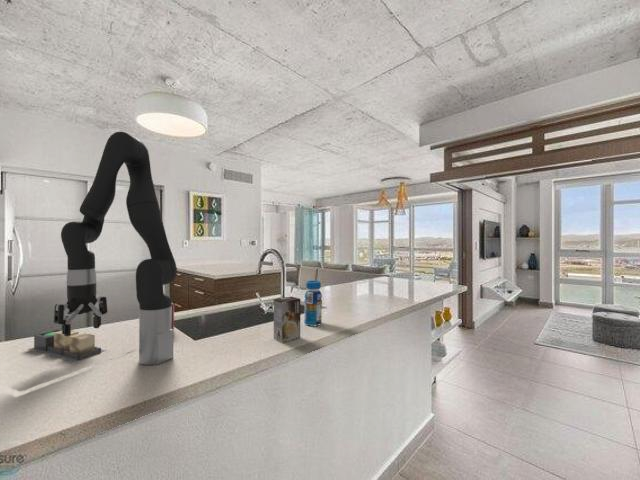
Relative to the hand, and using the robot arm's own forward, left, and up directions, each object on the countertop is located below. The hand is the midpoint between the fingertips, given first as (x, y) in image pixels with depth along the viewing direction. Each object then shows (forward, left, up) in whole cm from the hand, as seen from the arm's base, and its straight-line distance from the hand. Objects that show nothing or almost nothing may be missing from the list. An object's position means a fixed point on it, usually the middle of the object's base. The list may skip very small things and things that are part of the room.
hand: (82, 331), depth 95 cm
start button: (+17, 0, -6) cm, 18 cm away
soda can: (-3, -29, -9) cm, 30 cm away
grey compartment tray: (+9, 0, -9) cm, 12 cm away
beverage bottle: (-55, -66, -9) cm, 86 cm away
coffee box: (-53, -44, -9) cm, 69 cm away
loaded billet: (+9, 0, -8) cm, 12 cm away
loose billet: (+1, 0, -8) cm, 8 cm away
